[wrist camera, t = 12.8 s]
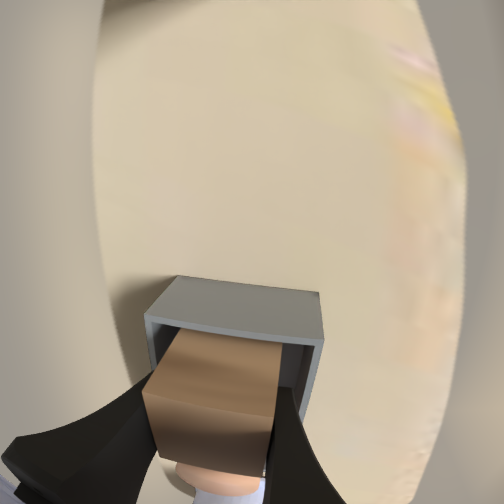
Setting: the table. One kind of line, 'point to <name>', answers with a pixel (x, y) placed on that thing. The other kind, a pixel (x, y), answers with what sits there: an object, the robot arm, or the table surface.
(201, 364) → the cube
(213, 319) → the tote
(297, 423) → the robot arm
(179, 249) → the table surface
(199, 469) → the cylinder
